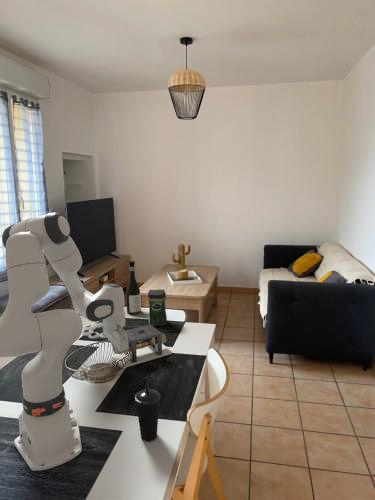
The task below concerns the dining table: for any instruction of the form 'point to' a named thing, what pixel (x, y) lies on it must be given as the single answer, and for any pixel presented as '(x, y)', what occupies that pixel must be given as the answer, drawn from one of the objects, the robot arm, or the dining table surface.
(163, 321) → the coffee jar
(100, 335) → the grey looped trivet
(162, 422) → the dining table surface
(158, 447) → the dining table surface
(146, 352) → the grey base plate
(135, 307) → the wine bottle
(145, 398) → the drinking cup
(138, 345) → the brass air tube
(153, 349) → the iron frame
